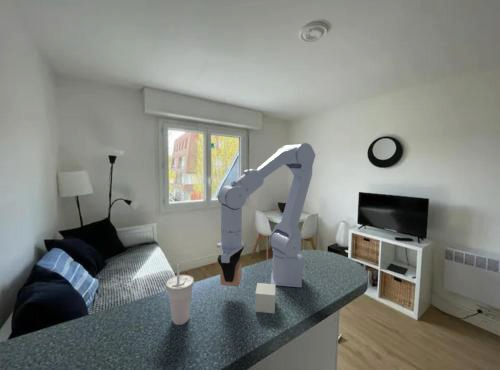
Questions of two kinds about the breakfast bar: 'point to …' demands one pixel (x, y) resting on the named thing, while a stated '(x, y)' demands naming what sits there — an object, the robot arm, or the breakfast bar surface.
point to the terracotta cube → (236, 277)
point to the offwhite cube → (265, 298)
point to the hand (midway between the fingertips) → (231, 275)
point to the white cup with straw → (180, 296)
